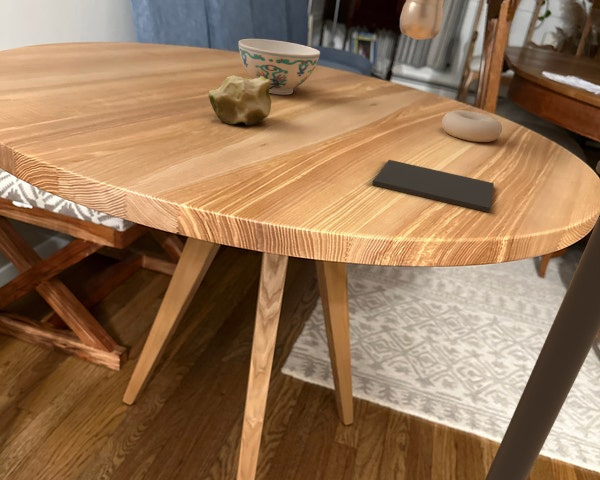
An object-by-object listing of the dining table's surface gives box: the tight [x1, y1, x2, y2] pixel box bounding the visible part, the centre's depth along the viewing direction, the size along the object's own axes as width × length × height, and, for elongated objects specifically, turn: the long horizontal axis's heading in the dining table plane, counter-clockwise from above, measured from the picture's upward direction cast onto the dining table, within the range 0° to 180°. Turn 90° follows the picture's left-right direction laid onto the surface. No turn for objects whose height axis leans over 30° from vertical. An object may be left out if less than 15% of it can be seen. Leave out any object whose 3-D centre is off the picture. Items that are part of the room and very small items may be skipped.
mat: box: [371, 159, 495, 213], centre depth 71 cm, size 14×10×1 cm
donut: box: [441, 109, 503, 143], centre depth 95 cm, size 10×4×10 cm
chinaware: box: [237, 38, 321, 96], centre depth 105 cm, size 15×15×8 cm
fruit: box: [208, 74, 279, 126], centre depth 84 cm, size 9×9×8 cm
